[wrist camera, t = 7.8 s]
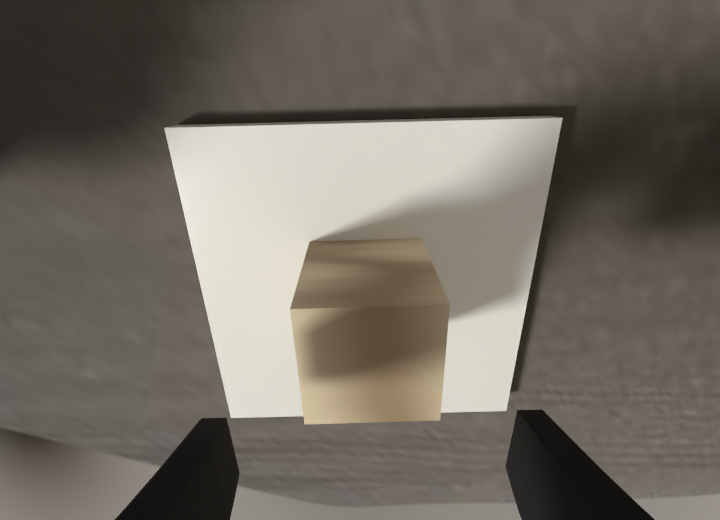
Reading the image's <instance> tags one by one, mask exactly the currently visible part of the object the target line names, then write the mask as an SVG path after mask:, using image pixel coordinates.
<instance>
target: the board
mask: <svg viewBox="0 0 720 520" xmlns="http://www.w3.org/2000/svg"><path fill="white" fill-rule="evenodd" d="M562 119H563V118H561V117H555V116H514V117H474V118H434V119H394V120H355V121H315V122H275V123H235V124H195V125H174V126H170V127H166V128H164V129H165V133H166V137H167V142H168V146H169V150H170V155H171V159H172V163H173V168H174V172H175V176H176V181H177V185H178V189H179V194H180V198H181V203H182V207H183V211H184V216H185V220H186V224H187V229H188V233H189V237H190V242H191V246H192V250H193V255H194V259H195V263H196V268H197V272H198V276H199V281H200V285H201V289H202V294H203V298H204V302H205V307H206V311H207V315H208V320H209V324H210V329H211V333H212V337H213V342H214V346H215V350H216V355H217V359H218V363H219V368H220V372H221V376H222V381H223V385H224V389H225V394H226V398H227V402H228V407H229V411H230V415H231V418H248V417H287V416H303V408H302V400H301V392H300V384H299V376H298V368H297V361H296V353H295V345H294V337H293V329H292V321H291V313H290V307H291V304H292V300H293V297H294V293H295V290H296V287H297V283H298V280H299V276H300V273H301V269H302V266H303V262H304V259H305V255H306V252H307V248H308V245H309V242H313V241H345V240H377V239H408V238H422V240H423V242H424V245H425V247H426V250H427V252H428V254H429V257H430V259H431V261H432V264H433V266H434V268H435V271H436V273H437V275H438V278H439V280H440V282H441V285H442V287H443V289H444V292H445V294H446V296H447V299H448V301H449V303H450V309H449V321H448V332H447V344H446V356H445V368H444V380H443V392H442V404H441V413H444V412H483V411H506V410H507V404H508V399H509V394H510V389H511V384H512V379H513V373H514V368H515V363H516V358H517V353H518V347H519V342H520V337H521V332H522V327H523V321H524V316H525V311H526V306H527V301H528V295H529V290H530V285H531V280H532V275H533V269H534V264H535V259H536V254H537V249H538V243H539V238H540V233H541V228H542V223H543V218H544V212H545V207H546V202H547V197H548V192H549V186H550V181H551V176H552V171H553V166H554V160H555V155H556V150H557V145H558V140H559V134H560V129H561V124H562Z"/></svg>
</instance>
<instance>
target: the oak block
mask: <svg viewBox="0 0 720 520" xmlns="http://www.w3.org/2000/svg"><path fill="white" fill-rule="evenodd" d="M449 309H450V303H449V301H448V299H447V296H446V294H445V292H444V289H443V287H442V285H441V282H440V280H439V278H438V275H437V273H436V271H435V268H434V266H433V264H432V261H431V259H430V257H429V254H428V252H427V250H426V247H425V245H424V242H423V240H422V238H408V239H377V240H345V241H313V242H309V245H308V248H307V252H306V255H305V259H304V262H303V266H302V269H301V273H300V276H299V280H298V283H297V287H296V290H295V293H294V297H293V300H292V304H291V307H290V313H291V321H292V329H293V337H294V345H295V353H296V361H297V368H298V376H299V384H300V392H301V400H302V408H303V416H304V424H333V423H366V422H399V421H432V420H440V416H441V404H442V392H443V380H444V368H445V356H446V344H447V332H448V321H449Z"/></svg>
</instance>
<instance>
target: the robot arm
mask: <svg viewBox="0 0 720 520" xmlns="http://www.w3.org/2000/svg"><path fill="white" fill-rule="evenodd" d="M506 469H507V473H508V477H509V480H510V484H511V487H512V491H513V494H514V497H515V501H516V504H517V507H518V510H519V513H520V516H521V518H522V520H654V519H653V518H652V517H651V516H650V515H649V514H648V513H647V512H646V511H645V510H644V509H642V508H641V507H640V506H639V505H638V504H637V503H636V502H635V501H634V500H633V499H632V498H631V497H630V496H629V495H628V494H627V493H626V492H625V491H623V490H622V489H621V488H620V487H619V486H618V485H617V484H616V483H615V482H614V481H613V480H612V479H611V478H610V477H609V476H608V475H607V474H606V473H605V472H604V471H603V470H602V469H601V468H600V467H599V466H598V465H597V464H596V463H595V462H594V461H593V460H592V459H591V458H590V457H589V456H588V455H587V454H586V453H585V452H584V451H583V450H582V449H581V448H580V447H579V446H578V445H577V444H576V443H575V442H574V441H573V440H572V439H571V438H570V437H569V436H568V435H567V434H566V433H565V432H564V431H563V430H562V429H561V428H560V427H559V426H558V425H557V424H556V423H555V422H554V421H553V420H552V419H551V418H550V417H549V416H548V415H547V414H546V413H545V412H544V411H543V410H517V415H516V419H515V424H514V429H513V434H512V438H511V443H510V448H509V453H508V457H507V462H506ZM238 478H239V469H238V465H237V460H236V456H235V452H234V448H233V444H232V439H231V435H230V431H229V427H228V422H227V418H202V419H201V420H200V421H199V422H198V423H197V424H196V425H195V426H194V428H193V429H192V430H191V431H190V433H189V434H188V435H187V436H186V437H185V439H184V440H183V441H182V442H181V443H180V445H179V446H178V447H177V448H176V450H175V451H174V452H173V453H172V454H171V456H170V457H169V458H168V459H167V460H166V462H165V463H164V464H163V465H162V466H161V467H160V469H159V470H158V471H157V472H156V473H155V475H154V476H153V477H152V478H151V479H150V480H149V482H148V483H147V484H146V485H145V486H144V487H143V488H142V490H141V491H140V492H139V493H138V494H137V495H136V496H135V498H134V499H133V500H132V501H131V502H130V503H129V505H128V506H127V507H126V508H125V509H124V510H123V511H122V512H121V513H120V515H119V516H118V517H117V518H116V519H115V520H230V516H231V511H232V507H233V503H234V498H235V493H236V488H237V483H238Z"/></svg>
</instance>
